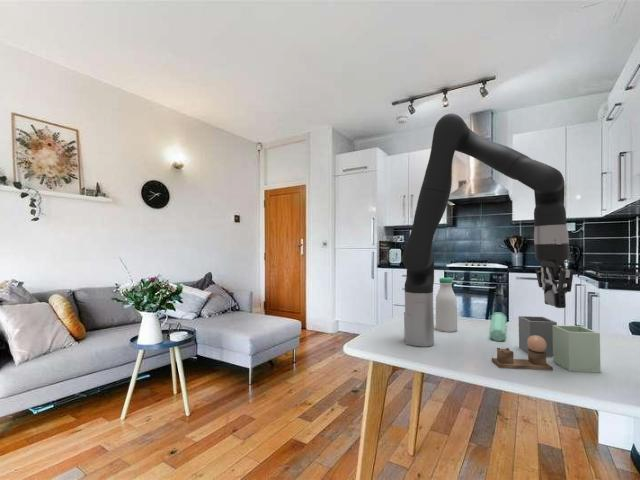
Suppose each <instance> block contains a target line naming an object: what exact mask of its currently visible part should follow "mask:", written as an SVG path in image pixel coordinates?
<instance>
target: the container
mask: <svg viewBox="0 0 640 480" xmlns="http://www.w3.org/2000/svg"><path fill="white" fill-rule="evenodd" d="M490 319H491V320H490V322H491V323H490V328H489V329H490V330H489V337H490V338H491V339H492V340H493V341H496V342H503V341H504V340H505V339H507V338H506V335H507V334H506V332H507V331H506V330H507V329H506V327H507V326H506V324H507V323H508V322H507V321H508V317H507V316H506V315H505V314H504V313H503V312H500V311H499V312H494V313H493V314H491V316H490Z"/></svg>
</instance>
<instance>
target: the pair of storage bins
mask: <svg viewBox="0 0 640 480" xmlns="http://www.w3.org/2000/svg"><path fill="white" fill-rule="evenodd" d="M533 335H538V336H540V337H542V338H543V339H544V340H545V341H546V344H547V347H546V349H545V350H544V351H543V352H545V353H546V357H552V361H553V362H554V363H556V364H558V365H559V366H561V367H562V368H564V369H566V370H567V371H569V372H586V373H601V371H602V369H601V367H602V366H601V334H600V332H597V331H595V330H592V329H589V328H587V327H584V326H582V325H559V324H558V323H557V321H555V320H552V319H550V318H548V317H545V316H527V315H524V316H523V315H519V316H518V348H519V349H520V350H521V351H523V352H525V353H526V354H528V349H530V348H529V347H528V345H527V340H528V338H529V337H530V336H533Z"/></svg>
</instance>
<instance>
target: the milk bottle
mask: <svg viewBox="0 0 640 480" xmlns="http://www.w3.org/2000/svg"><path fill="white" fill-rule="evenodd" d="M452 285H453V278H452V277H451V278H450V277H440V278H439V290H438V292H437V294H436V296H435V329H436V330H437V331H440V332H446V333H453V332H457V331H458V303H457V302H458V301H457V297H456V294H455V292H454V290H453V287H452Z"/></svg>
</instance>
